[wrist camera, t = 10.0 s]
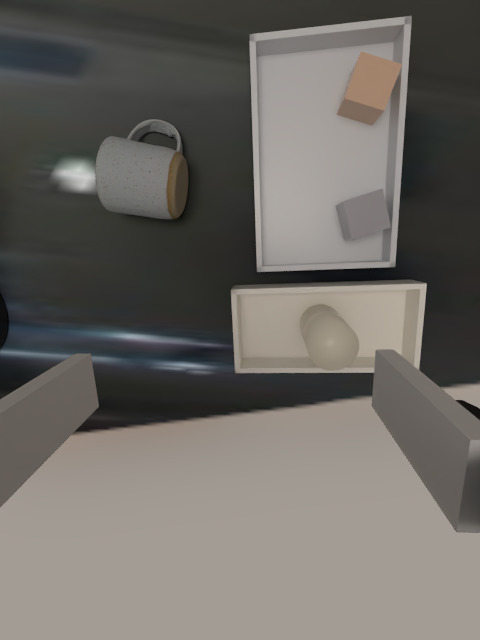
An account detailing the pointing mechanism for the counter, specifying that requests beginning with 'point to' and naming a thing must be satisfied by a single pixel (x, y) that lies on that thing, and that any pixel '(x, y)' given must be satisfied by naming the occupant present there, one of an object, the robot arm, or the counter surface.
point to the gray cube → (363, 215)
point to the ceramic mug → (142, 174)
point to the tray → (323, 144)
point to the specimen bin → (347, 300)
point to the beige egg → (328, 338)
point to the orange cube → (368, 88)
